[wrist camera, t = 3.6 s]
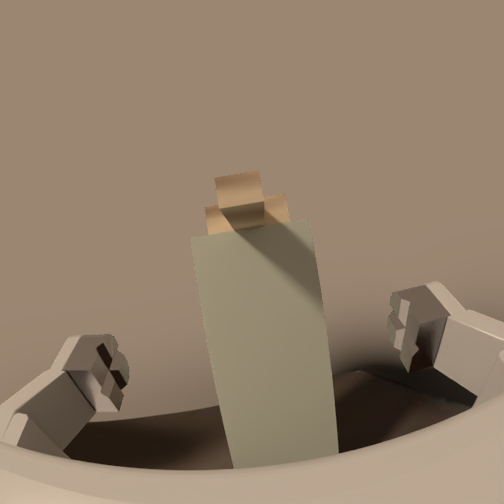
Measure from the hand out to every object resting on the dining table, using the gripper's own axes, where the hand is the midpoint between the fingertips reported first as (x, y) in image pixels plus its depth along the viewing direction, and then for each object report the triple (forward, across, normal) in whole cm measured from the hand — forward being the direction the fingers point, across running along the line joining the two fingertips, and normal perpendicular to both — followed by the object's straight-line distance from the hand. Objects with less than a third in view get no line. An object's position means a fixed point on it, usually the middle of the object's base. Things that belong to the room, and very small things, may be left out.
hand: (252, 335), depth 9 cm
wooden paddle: (+18, 0, -4) cm, 19 cm away
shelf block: (+9, 0, -29) cm, 30 cm away
